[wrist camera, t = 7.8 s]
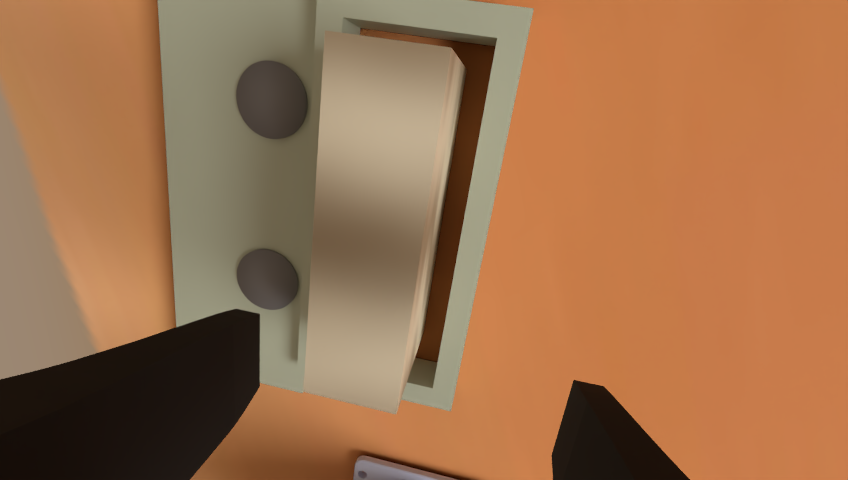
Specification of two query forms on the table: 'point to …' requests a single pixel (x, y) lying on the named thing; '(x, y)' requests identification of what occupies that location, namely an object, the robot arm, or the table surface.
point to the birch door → (377, 211)
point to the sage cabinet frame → (300, 159)
